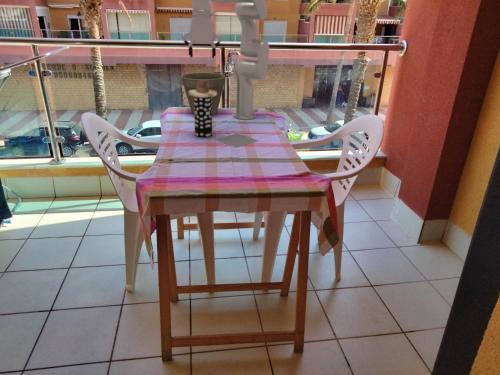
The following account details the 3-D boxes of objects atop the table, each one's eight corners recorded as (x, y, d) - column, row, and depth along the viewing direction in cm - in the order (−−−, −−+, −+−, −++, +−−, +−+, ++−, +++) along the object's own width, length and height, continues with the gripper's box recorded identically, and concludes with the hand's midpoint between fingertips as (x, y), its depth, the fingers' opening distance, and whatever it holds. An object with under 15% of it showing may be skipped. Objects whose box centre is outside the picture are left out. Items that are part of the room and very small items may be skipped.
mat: (237, 134, 184) (237, 133, 184) (259, 141, 175) (259, 140, 174) (214, 140, 174) (214, 139, 174) (236, 148, 165) (236, 147, 164)
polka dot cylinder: (213, 134, 183) (213, 93, 174) (210, 139, 176) (209, 96, 167) (197, 132, 184) (196, 92, 175) (193, 138, 176) (191, 95, 168)
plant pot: (174, 115, 212) (172, 76, 203) (194, 106, 233) (193, 70, 224) (214, 120, 205) (214, 80, 195) (231, 111, 226) (232, 74, 216)
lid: (204, 90, 179) (204, 77, 176) (222, 95, 171) (222, 81, 169) (182, 93, 171) (182, 80, 168) (201, 98, 163) (200, 84, 160)
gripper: (222, 15, 160) (222, 57, 168) (182, 13, 160) (184, 55, 167) (221, 15, 154) (221, 59, 161) (179, 14, 153) (181, 57, 160)
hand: (202, 57), depth 164 cm, fingers open, 9 cm apart
